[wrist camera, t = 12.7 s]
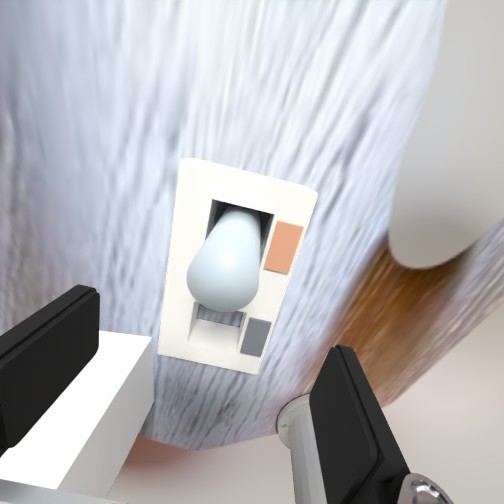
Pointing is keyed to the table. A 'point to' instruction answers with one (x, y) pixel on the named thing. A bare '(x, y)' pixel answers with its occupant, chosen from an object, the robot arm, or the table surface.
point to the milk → (89, 422)
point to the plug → (228, 262)
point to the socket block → (270, 270)
